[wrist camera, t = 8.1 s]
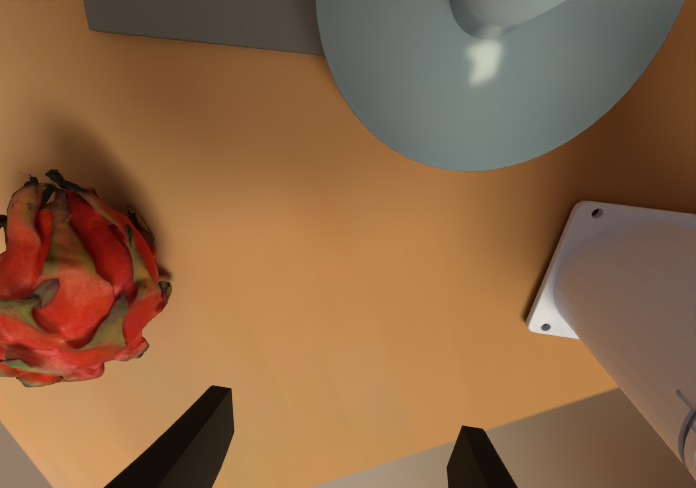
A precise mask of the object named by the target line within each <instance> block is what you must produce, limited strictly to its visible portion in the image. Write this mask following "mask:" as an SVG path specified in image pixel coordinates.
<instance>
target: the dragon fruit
mask: <svg viewBox="0 0 696 488" xmlns="http://www.w3.org/2000/svg"><path fill="white" fill-rule="evenodd" d="M18 173H19V172H18ZM25 174H26V173H25ZM22 175H23V174H22ZM28 175H29V174H28ZM45 175H46V176H48V177H49V178H50V179H51V180H52V181H53V182H55V183H57V184H58V185H59V186H60V187H61V188H63V189H64V190H63V189H59V188H56V185H55V184H52V183H38V180H37V178H36V177H32V176H31V175H30V176H31V178H30V181H29V182H28V181H27V182H26V183H25V184H24V186H23V187H21V188H20V189H19V190H18V191H16V192H15V193H14V194H13V195H12V197H11V200H10V203H9V206H8V208H7V216H5V215H0V228H1V227H3V228H4V232H5V243H6V251H5V252H3V253H1V254H0V377H1V376H2V377H16V379H18V380H20V381H21V382H22V384H23V385H24V386H25V387H41V386H46V385H51V384H55V383H58V382H74V381H85V380H91V379H96V378H99V377H101V376H102V375H103V373H104V363H105V362H107V361H111V360H117V361H129V360H130V359H132V358H140V357H141V356H142V355H143V353H144V352H145V351H146V350H147V349H148V348H149V344H148V342H147V341H146V339H145V338H144V337H142V329H143V328H144V327H145V326H146V325H147V323H148V322H149V321H150V320H151V319H152V318H154V317H155V316H156V315H157V314H159V313H160V312H162V310H163V309H164V307H165V306H166V304H167V302H168V299H169V297H170V295H171V291H172V285H171V283H170V282H166V281H160V282H158V280H159V274H158V269H157V264H156V261H155V259H156V249H155V247H154V245H153V243H152V240H153V239H154V237H153V235H152V233H151V232H150V231H149V229H148V228H147V226H146V224H145V222H144V221H143V220H142V218H141V217H140V216H139V215H138V213H137V211H136V210H135V209H133V208H131V207H130V206H129V205H127V207H128V210H129V218H128V217H127V216H126V215H124V214H122V213H120V212H118V211H116V210H114V209H113V208H111V207H110V206H108V205H107V204H105V203H104V202H103V201H102V200H101V199H100V198H99V197H98V196H97V194H96V191H95V189H94V188H93V187H80V186H78V185H77V184H74V183H72V182H69V181H65V180H64V179H63V177H62V175H61V174H60V173H59V172H58V170H57V169H51V170H50V171H48V172H47V173H46V174H45ZM24 176H25V175H24ZM55 189H56V190H55ZM54 191H55V194H56V195H55V200H54V201H53V202H49V203H46V202H47V201H48V199H49V198H50V196H51V195H52V193H53V192H54Z"/></svg>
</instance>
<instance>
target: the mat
mask: <svg viewBox="0 0 696 488" xmlns="http://www.w3.org/2000/svg"><path fill="white" fill-rule="evenodd" d="M84 5H85V10H86V15H87V20H88V26H89V30H94V31H99V32H109V33H118V34H127V35H137V36H146V37H155V38H165V39H174V40H183V41H192V42H202V43H211V44H220V45H230V46H239V47H248V48H257V49H267V50H276V51H285V52H295V53H304V54H313V55H322V56H325V53H324V50H323V47H322V42H321V37H320V32H319V26H318V21H317V10H316V0H84Z"/></svg>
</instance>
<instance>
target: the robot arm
mask: <svg viewBox="0 0 696 488" xmlns="http://www.w3.org/2000/svg"><path fill="white" fill-rule="evenodd" d="M595 209H598V213H597V214H596V215H594V216H591V215H592V212H593V211H594V210H595ZM544 324H547V325H546V326H544V327H541V326H542V325H544ZM526 326H527V328H528V329H529V330H530V331H531V332H535V333H541V334H548V335H555V336H562V337H569V338H576V339H580V340H581V341H582V342H583V343H584V345H585V346H586V347H587V348H588V349H589V351H590V352H591V353H592V354H593V355H594V357H595V358H596V359H597V360H598V362H599V363H600V364H601V365H602V366H603V368H604V369H605V370H606V371H607V372H608V374H609V375H610V376H611V377H612V378H613V380H614V381H615V382H616V383H617V385H618V386H619V387H620V388H621V389H622V391H623V392H624V393H625V394H626V395H627V396H628V398H629V399H630V400H631V401H632V403H633V404H634V405H635V406H636V408H637V409H638V410H639V411H640V412H641V414H642V415H643V416H644V417H645V418H646V420H647V421H648V422H649V423H650V424H651V426H652V427H653V428H654V429H655V430H656V432H657V433H658V434H659V435H660V437H661V438H662V439H663V440H664V441H665V443H666V444H667V445H668V446H669V447H670V448H671V450H672V451H673V452H674V453H675V455H676V456H677V457H678V458H679V460H680V461H681V462H682V463H683V464H684V466H685V467H686V468H687V469H688V470H689V471H690V473H691V474H692V475H693V477H694V478H695V480H696V214H691V213H683V212H675V211H667V210H659V209H651V208H643V207H635V206H627V205H619V204H611V203H603V202H595V201H581V202H578V203H577V204H576V205H575V206H574V208H573V209H572V212H571V214H570V216H569V219H568V221H567V224H566V226H565V228H564V231H563V233H562V236H561V238H560V240H559V243H558V245H557V248H556V250H555V253H554V255H553V257H552V260H551V262H550V265H549V267H548V269H547V272H546V274H545V277H544V279H543V281H542V284H541V286H540V289H539V291H538V293H537V296H536V298H535V301H534V303H533V305H532V308H531V310H530V313H529V315H528V317H527V320H526ZM233 434H234V420H233V405H232V390H231V388H226V387H220V386H213V385H212V386H211V387H209V388H208V389H207V390H206V392H205V393H204V394H203V395H202V396H201V397H200V398H199V399H198V400H197V401H196V402H195V403H194V404H193V405H192V406H191V407H190V408H189V409H188V410H187V411H186V412H185V413H184V414H183V415H182V416H181V417H180V418H179V419H178V420H177V421H176V422H175V423H174V424H173V425H172V426H171V427H170V428H169V429H168V430H167V431H166V432H165V433H163V434H162V435H161V436H160V437H159V438H158V439H157V440H156V441H155V442H154V443H153V444H152V445H151V446H150V447H149V448H148V449H147V450H146V451H144V452H143V453H142V454H141V455H140V456H139V457H138V458H137V459H136V460H134V461H133V462H132V463H131V464H130V465H129V466H128V467H127V468H125V469H124V470H123V471H122V472H121V473H120V474H119V475H117V476H116V477H115V478H114V479H113V480H112V481H111V482H110V483H108V484H107V485H106V486H105V487H104V488H212V486H213V484H214V482H215V480H216V478H217V475H218V473H219V471H220V469H221V467H222V464H223V461H224V459H225V456H226V453H227V451H228V448H229V445H230V442H231V439H232V437H233ZM447 476H448V488H518V487H517V486H516V484H515V482H514V481H513V479H512V477H511V475H510V474H509V472H508V470H507V469H506V467H505V465H504V464H503V462H502V460H501V459H500V457H499V455H498V454H497V452H496V450H495V448H494V446H493V445H492V443H491V442H490V440H489V438H488V436H487V434H486V433H485V431H484V430H483V429H481V428H475V427H468V426H462V428H461V430H460V433H459V436H458V438H457V441H456V444H455V446H454V450H453V452H452V454H451V457H450V460H449V463H448V465H447Z"/></svg>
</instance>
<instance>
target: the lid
mask: <svg viewBox="0 0 696 488" xmlns="http://www.w3.org/2000/svg"><path fill="white" fill-rule="evenodd" d="M683 3H684V0H316V10H317V21H318V26H319V32H320V37H321V42H322V47H323V50H324V53H325V56H326V60H327V63H328V66H329V69H330V71H331V73H332V76H333V78H334V80H335V83H336V85H337V87H338V89H339V91H340V92H341V94H342V96H343V98H344V99H345V101H346V103H347V104H348V106H349V108H350V109H351V110H352V111H353V113H354V114H355V115H356V116H357V118H358V119H359V120H360V122H361V123H362V124H363V125H364V126H365V127H366V128H367V129H368V130H369V131H370V132H371V133H372V134H373V135H374V136H375V137H376V138H378V139H379V140H380V141H382V142H383V143H384V144H386V145H387V146H388V147H390V148H391V149H393V150H394V151H396V152H398V153H400V154H402V155H403V156H405V157H407V158H409V159H412V160H414V161H417V162H419V163H422V164H425V165H428V166H432V167H436V168H441V169H445V170H455V171H486V170H492V169H499V168H505V167H508V166H512V165H516V164H519V163H523V162H526V161H529V160H531V159H533V158H536V157H538V156H541V155H543V154H546V153H548V152H550V151H552V150H553V149H555V148H557V147H559V146H561V145H563V144H565V143H566V142H568V141H570V140H571V139H573V138H574V137H576V136H577V135H578V134H580V133H581V132H583V131H584V130H586V129H587V128H589V127H590V126H591V125H592V124H593V123H595V122H596V121H597V120H598V119H599V118H601V117H602V116H603V115H604V114H605V113H607V112H608V111H609V110H610V109H611V108H612V107H613V106H614V105H615V104H616V103H617V102H618V101H619V100H620V99H621V98H622V97H623V96H624V95H625V94H626V93H627V92H628V91H629V89H630V88H631V87H632V86H633V84H634V83H635V82H636V81H637V80H638V78H639V77H640V76H641V75H642V73H643V72H644V71H645V70H646V68H647V67H648V65H649V64H650V62H651V61H652V59H653V58H654V56H655V55H656V53H657V52H658V50H659V49H660V47H661V46H662V44H663V43H664V41H665V39H666V37H667V35H668V33H669V32H670V30H671V28H672V26H673V24H674V22H675V20H676V19H677V17H678V15H679V12H680V10H681V7H682V5H683Z"/></svg>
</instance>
